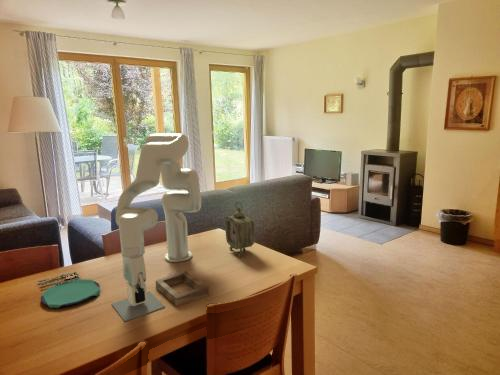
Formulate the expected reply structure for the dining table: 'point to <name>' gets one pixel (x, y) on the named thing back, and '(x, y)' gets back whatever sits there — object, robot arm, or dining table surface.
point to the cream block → (131, 294)
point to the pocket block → (183, 298)
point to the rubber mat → (137, 307)
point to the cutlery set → (69, 291)
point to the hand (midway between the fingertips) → (137, 298)
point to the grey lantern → (239, 231)
